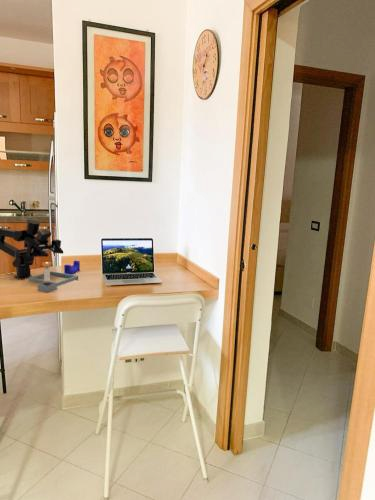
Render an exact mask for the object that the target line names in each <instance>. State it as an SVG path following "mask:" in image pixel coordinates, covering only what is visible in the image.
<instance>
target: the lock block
mask: <svg viewBox="0 0 375 500" xmlns="http://www.w3.org/2000/svg"><path fill="white" fill-rule="evenodd" d="M53 282H54V281H52V282H50V285H44V282H43V283H38V284H37V291H38V292H43V293H51V292H54V291H56V290H58V286H57V283H53Z"/></svg>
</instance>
